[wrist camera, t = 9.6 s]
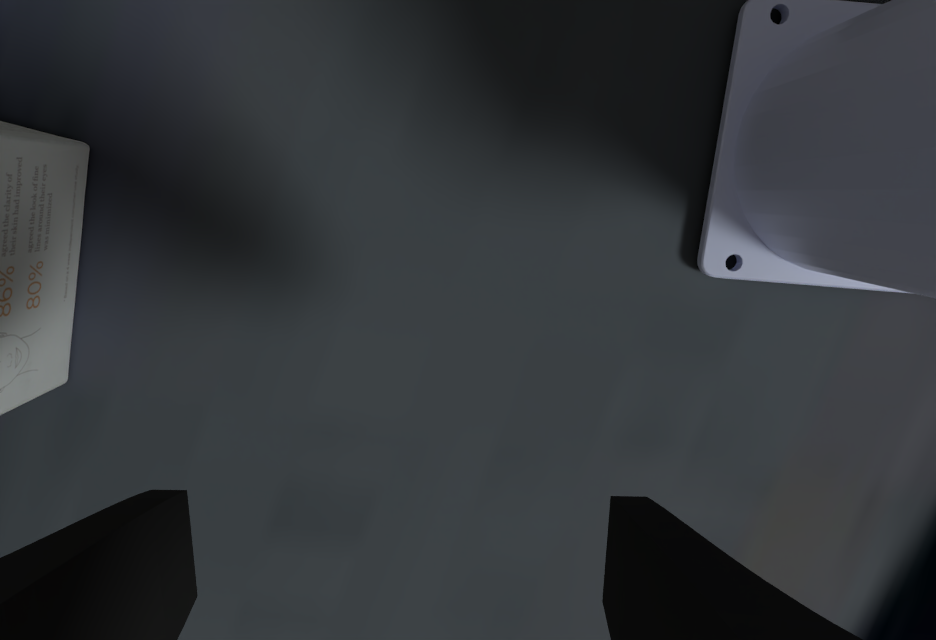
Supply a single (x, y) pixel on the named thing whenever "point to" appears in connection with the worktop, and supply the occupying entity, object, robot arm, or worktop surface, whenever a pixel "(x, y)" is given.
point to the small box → (38, 258)
